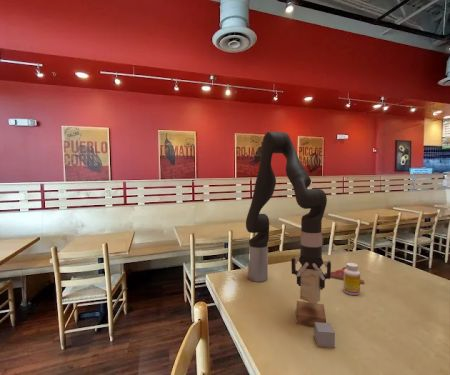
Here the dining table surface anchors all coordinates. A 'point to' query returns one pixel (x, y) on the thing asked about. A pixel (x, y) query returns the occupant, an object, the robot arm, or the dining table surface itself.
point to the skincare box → (310, 286)
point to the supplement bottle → (351, 279)
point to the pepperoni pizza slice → (341, 275)
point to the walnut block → (309, 313)
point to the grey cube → (324, 334)
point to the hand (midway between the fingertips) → (310, 286)
